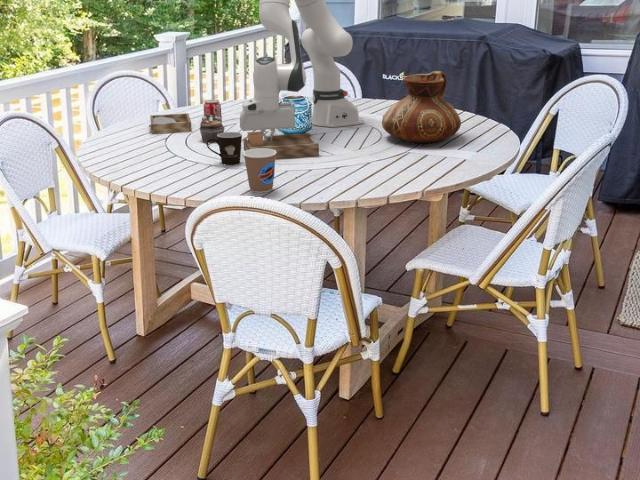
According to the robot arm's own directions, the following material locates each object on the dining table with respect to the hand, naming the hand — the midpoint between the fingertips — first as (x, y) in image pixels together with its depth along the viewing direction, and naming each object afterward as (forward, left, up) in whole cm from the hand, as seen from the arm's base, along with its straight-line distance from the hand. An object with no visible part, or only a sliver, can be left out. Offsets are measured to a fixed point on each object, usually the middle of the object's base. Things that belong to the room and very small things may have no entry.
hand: (268, 141), depth 292 cm
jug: (-59, -2, -4) cm, 60 cm away
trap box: (-4, +3, -4) cm, 6 cm away
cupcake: (+19, -22, -4) cm, 29 cm away
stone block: (+36, -49, -4) cm, 61 cm away
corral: (+34, -48, -4) cm, 59 cm away
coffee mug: (+17, +12, -4) cm, 21 cm away
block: (+5, 0, -1) cm, 5 cm away
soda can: (+17, -40, -4) cm, 44 cm away
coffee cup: (+10, +47, -4) cm, 48 cm away
